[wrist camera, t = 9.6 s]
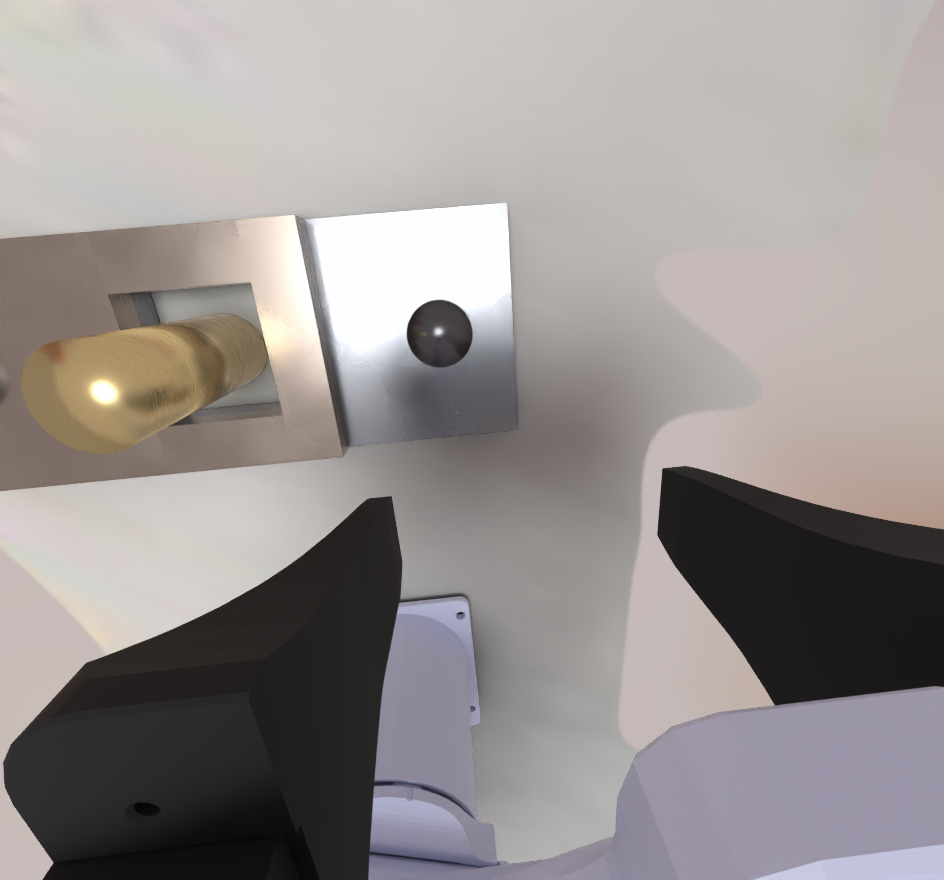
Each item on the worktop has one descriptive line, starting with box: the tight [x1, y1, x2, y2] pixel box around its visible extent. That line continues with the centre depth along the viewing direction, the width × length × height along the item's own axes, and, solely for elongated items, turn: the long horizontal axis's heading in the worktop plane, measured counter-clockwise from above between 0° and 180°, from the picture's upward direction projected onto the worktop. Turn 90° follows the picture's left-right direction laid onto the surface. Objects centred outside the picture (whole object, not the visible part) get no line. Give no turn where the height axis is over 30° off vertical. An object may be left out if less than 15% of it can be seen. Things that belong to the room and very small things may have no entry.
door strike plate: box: [0, 203, 518, 491], centre depth 17 cm, size 24×9×3 cm, turn 95°
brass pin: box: [21, 314, 267, 454], centre depth 15 cm, size 3×3×8 cm
